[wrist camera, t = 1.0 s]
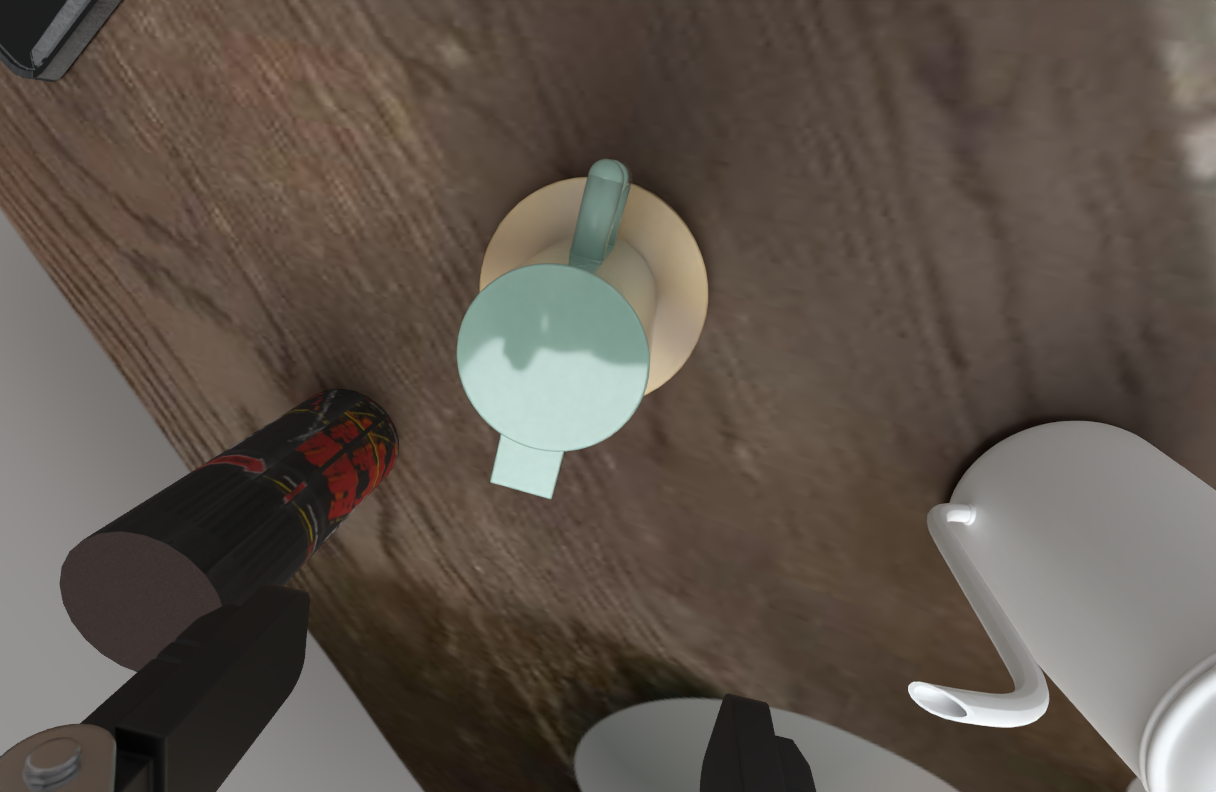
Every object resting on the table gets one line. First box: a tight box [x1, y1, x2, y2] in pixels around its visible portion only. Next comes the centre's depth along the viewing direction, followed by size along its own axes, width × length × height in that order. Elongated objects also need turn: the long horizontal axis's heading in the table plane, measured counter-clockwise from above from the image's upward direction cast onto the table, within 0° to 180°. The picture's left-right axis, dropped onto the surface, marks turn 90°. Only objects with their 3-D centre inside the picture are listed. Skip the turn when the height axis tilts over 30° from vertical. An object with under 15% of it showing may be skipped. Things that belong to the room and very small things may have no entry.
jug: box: [457, 159, 657, 499], centre depth 26 cm, size 11×6×11 cm, turn 165°
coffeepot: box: [908, 421, 1216, 792], centre depth 25 cm, size 11×25×19 cm, turn 78°
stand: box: [480, 177, 708, 395], centre depth 32 cm, size 11×11×2 cm
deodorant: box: [60, 389, 398, 672], centre depth 30 cm, size 6×6×15 cm
